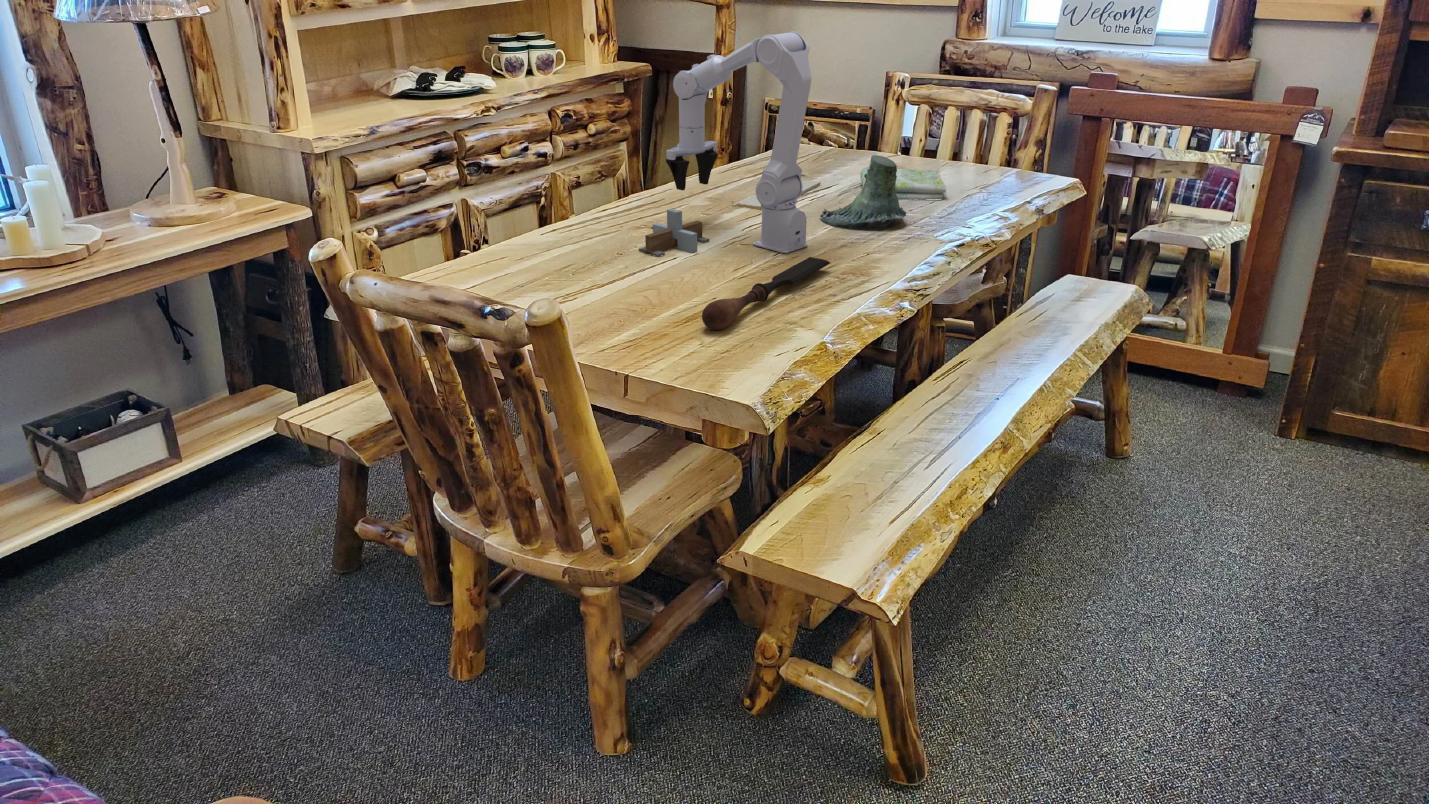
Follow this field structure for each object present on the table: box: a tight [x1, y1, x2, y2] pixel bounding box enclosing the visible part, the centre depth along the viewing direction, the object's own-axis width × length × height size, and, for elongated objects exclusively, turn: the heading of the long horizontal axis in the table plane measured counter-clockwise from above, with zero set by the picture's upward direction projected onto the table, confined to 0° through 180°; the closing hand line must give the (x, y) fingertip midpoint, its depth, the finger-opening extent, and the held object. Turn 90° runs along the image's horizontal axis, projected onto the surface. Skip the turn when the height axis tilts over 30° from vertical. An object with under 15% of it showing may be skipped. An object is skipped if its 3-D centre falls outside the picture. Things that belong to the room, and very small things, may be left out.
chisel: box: [701, 256, 831, 331], centre depth 192 cm, size 5×43×5 cm, turn 148°
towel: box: [860, 166, 947, 200], centre depth 268 cm, size 18×21×5 cm
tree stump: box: [819, 154, 907, 230], centre depth 240 cm, size 18×20×18 cm
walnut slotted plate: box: [638, 220, 711, 258], centre depth 223 cm, size 6×16×4 cm, turn 137°
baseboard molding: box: [731, 174, 821, 211], centre depth 265 cm, size 31×3×12 cm
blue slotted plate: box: [652, 208, 698, 254], centre depth 222 cm, size 12×2×8 cm, turn 47°
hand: (692, 186), depth 234 cm, fingers open, 7 cm apart
